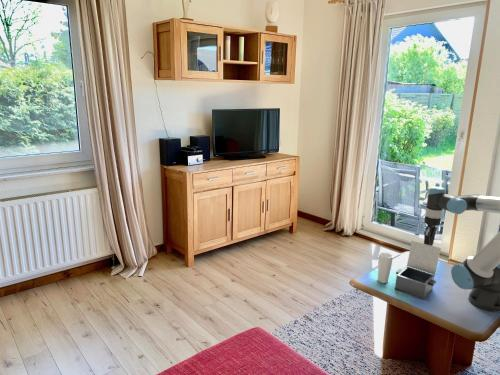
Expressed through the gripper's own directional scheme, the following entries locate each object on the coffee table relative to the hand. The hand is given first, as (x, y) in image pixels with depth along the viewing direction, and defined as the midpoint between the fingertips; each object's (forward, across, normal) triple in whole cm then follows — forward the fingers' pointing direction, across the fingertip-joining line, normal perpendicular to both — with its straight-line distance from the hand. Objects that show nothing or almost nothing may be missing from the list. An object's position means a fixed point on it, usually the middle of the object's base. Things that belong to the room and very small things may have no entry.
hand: (426, 258), depth 194 cm
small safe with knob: (+12, +14, 0) cm, 19 cm away
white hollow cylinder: (+13, +18, -15) cm, 26 cm away
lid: (-3, +6, 0) cm, 7 cm away
